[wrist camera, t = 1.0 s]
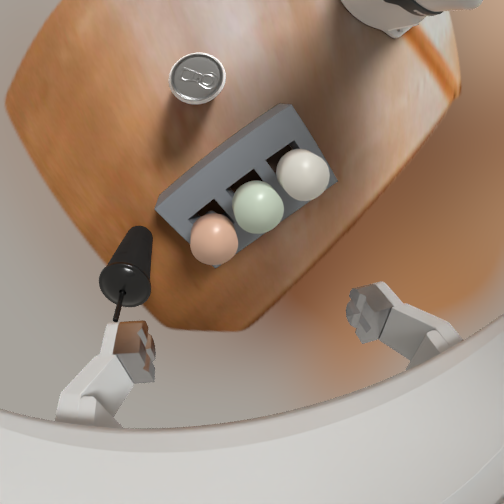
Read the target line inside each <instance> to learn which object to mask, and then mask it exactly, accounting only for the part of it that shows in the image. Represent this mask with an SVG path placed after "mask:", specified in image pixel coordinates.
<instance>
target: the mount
mask: <svg viewBox="0 0 504 504" xmlns="http://www.w3.org/2000/svg"><path fill="white" fill-rule="evenodd" d="M288 144H289V145H290V146H291V148H292V149H293V150H294V149H305V150H308V151H310V152H312V153H314V154H315V155H317V156H319V157H320V158H322V159H323V160H324V161H325V162H326V164H327V166H328V168H329V173H330V177H329V183H328V185H327V187H326V189H328V188H329V187H331V186H332V185H333V184H335V183H336V182H338V180H337V179H336V177H335V175H334V173H333V171H332V170H331V168H330V166H329V164H328V162H327V161H326V159H325V157H324V156H323V154H322V152H321V150H320V149H319V147H318V145H317V144H316V142H315V141H314V139H313V137H312V136H311V134H310V132H309V131H308V129H307V128H306V126H305V125H304V123H303V121H302V120H301V118H300V117H299V115H298V114H297V112H296V111H295V109H294V108H293V106H292V105H290V104H280V103H279V104H278V105H276V106H275V107H273V108H272V109H270V110H268V111H267V112H265V113H264V114H263V115H261V116H260V117H258V118H257V119H255V120H254V121H252V122H251V123H249V124H248V125H247V126H245V127H244V128H242V129H241V130H240V131H238V132H237V133H235V134H234V135H233V136H231V137H230V138H229V139H227V140H226V141H225V142H223V143H222V144H221V145H219V146H218V147H217V148H215V149H214V150H213V151H212V152H210V153H209V154H208V155H206V156H205V157H204V158H203V159H201V160H200V161H199V162H198V163H196V164H195V165H194V166H193V167H192V168H190V169H189V170H188V171H187V172H186V173H184V174H183V175H182V176H181V177H180V178H178V179H177V180H176V181H175V182H174V183H173V184H171V185H170V186H169V187H168V188H167V189H166V190H165V191H163V192H162V193H161V194H160V195H159V198H158V201H157V203H156V206H155V210H156V211H157V212H158V213H159V214H160V215H161V216H162V217H163V218H164V219H165V220H166V221H167V222H168V223H169V224H170V225H171V226H172V227H173V228H174V229H175V230H176V231H177V232H178V233H179V234H180V235H181V236H182V237H183V238H184V239H185V240H186V241H187V242H188V243H189V244H190V240H191V229H192V226H193V224H194V223H195V221H196V220H197V219H199V218H200V216H199V215H198V214H197V212H198V211H199V210H200V209H201V208H203V207H204V206H205V205H206V204H208V203H209V202H210V201H212V200H213V199H215V200H216V201H217V202H218V204H219V205H220V206H221V207H222V208H223V209H224V210H225V212H223V213H222V214H221V215H224V216H226V217H227V218H228V219H230V220H231V222H232V223H233V225H234V228H235V231H236V235H237V239H238V249H237V251H236V253H235V254H237V253H238V252H239V251H241V250H242V249H244V248H245V247H246V246H248V245H249V244H250V243H252V242H253V241H255V240H256V239H257V238H259V237H260V236H262V235H263V234H264V233H261V234H254V233H249V232H247V231H245V230H243V229H242V228H241V227H240V226H239V225H238V223H237V221H236V218H235V215H234V212H233V208H232V199H233V196H234V194H235V193H234V192H233V191H232V189H231V188H230V186H231V185H232V184H234V183H235V182H236V181H238V180H239V179H240V178H242V177H243V176H244V175H246V174H247V173H248V172H250V171H251V170H253V169H255V171H256V172H257V173H258V175H259V176H260V177H261V179H262V180H263V181H264V182H266V183H268V184H269V185H271V186H272V187H273V189H274V190H275V191H276V192H277V194H278V195H279V196H280V198H281V199H282V202H283V205H284V213H283V217H282V219H281V221H283V220H284V219H285V218H287V217H288V216H290V215H291V214H292V213H294V212H295V211H297V210H298V209H300V208H301V207H302V206H304V205H305V204H307V203H308V202H309V201H311V200H309V201H299V200H296V199H294V198H292V197H291V196H290V195H289V194H288V193H287V192H286V191H285V190H284V188H283V187H282V186H281V185H280V183H279V182H278V179H277V175H276V174H275V173H274V171H273V170H272V168H271V167H270V166H269V164H268V163H267V162H266V159H268V158H269V157H271V156H272V155H273V154H275V153H276V152H278V151H279V150H281V149H282V148H283V147H285V146H286V145H288ZM326 189H325V190H326ZM325 190H324V191H325ZM281 221H280V222H281ZM280 222H279V223H280ZM265 233H266V232H265ZM220 265H221V264H219V265H212V266H213V267H214V268H215V269H216V268H217V267H219V266H220Z"/></svg>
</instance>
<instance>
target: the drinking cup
mask: <svg viewBox="0 0 504 504" xmlns="http://www.w3.org/2000/svg"><path fill="white" fill-rule="evenodd" d="M152 241H153V237H152V234H151V232H150V231H149V230H148V229H147V228H145V227H143V226H135V227H132V228H131V229H130V230H129V231H128V233H127V234H126V236H125V237H124V239H123V240H122V242H121V244H120V245H119V247H118V248H117V250H116V252H115V253H114V255H113V257H112V258H111V260H110V262H109V263H108V265H107V266H106V267H105V268H104V269H103V270H102V272H101V274H100V277H99V285H100V289H101V291H102V292H103V294H104V295H105V297H106V298H108V299H109V300H110V301H111V302H113V303H115V304H117V306H116V309H115V314H114V317H113V321H114V322H118V319H119V315H120V311H121V307H122V306H123V307H136V306H139V305H141V304H143V303H144V302H145V301H147V299H148V298H149V296H150V293H151V283H150V267H151V253H152Z"/></svg>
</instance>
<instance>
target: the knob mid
mask: <svg viewBox="0 0 504 504" xmlns="http://www.w3.org/2000/svg"><path fill="white" fill-rule="evenodd" d="M232 208H233V212H234V215H235V218H236V221H237V223H238V225H239V226H240V227H241V228H242V229H243V230H245V231H247V232H249V233H254V234H261V233H265V232H268V231H270V230H272V229H273V228H275V227H276V226H277V225H278V224H279V222H280V221H281V219H282V217H283V213H284V205H283V202H282V199H281V198H280V196H279V195H278V194H277V192H276V191H275V190H274V189H273V187H272V186H271V185H269V184H268V183H266V182H263V181H257V180H256V181H249V182H247V183H244V184H243V185H241V186H240V187H239V188H238V189H237V190H236V192H235V194H234V196H233V199H232Z"/></svg>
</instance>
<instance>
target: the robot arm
mask: <svg viewBox="0 0 504 504" xmlns="http://www.w3.org/2000/svg"><path fill="white" fill-rule="evenodd" d="M341 1H342V3H343V4H344V6H345V7H346V8H347V9H348V11H349V12H350V13H351V14H352V15H353V16H355V17H356V18H357V19H358V20H360V21H361V22H363V23H365V24H366V25H368V26H371V27H374V28H377V29H380V30H382V31H384V32H385V33H386V34H388V35H389V36H391V37H392V38H398V37H400V36H401V35H403V34H404V33H405V32H406V31H408V30H409V29H410V28H411V27H413V26H416V25H419V22H420V21H422V20H423V19H424V18H425V17H426V16H434V15H437V14H441V13H442V12H443V11H452V10H471V9H475V8H477V7H478V6H480V5H481V3H482V1H483V0H341ZM397 30H398V31H397ZM349 297H350V298H351V300H350V302H349V303H348V304H347V307H346V317H347V319H348V322H349V323H350V325H351V326H353V327H355V328H356V332H355V333H356V334H357V336H358V337H359V339H360V341H361V342H362V344H363V343H367V342H370V341H374V340H377V339H379V340H380V341H381V342H383V343H384V344H386V345H387V346H389V347H390V348H392V349H393V350H395V351H396V352H398V353H400V354H401V355H403V356H404V357H406V358H407V359H409V360H410V363H409V365H408V366H407V368H406V371H404V372H402V373H399V374H397V375H395V376H393V377H390V378H388V379H385V380H383V381H381V382H378V383H376V384H373V385H371V386H368V387H365V388H363V389H360V390H357V391H354V392H352V393H349V394H346V395H343V396H340V397H337V398H334V399H330V400H327V401H324V402H320V403H317V404H313V405H310V406H306V407H302V408H298V409H295V410H291V411H286V412H282V413H277V414H273V415H268V416H263V417H258V418H253V419H247V420H241V421H234V422H228V423H220V424H212V425H202V426H192V427H177V428H147V429H146V428H135V429H134V428H123V427H122V426H121V425H120V424H119V423H118V422H117V421H116V420H115V419H114V418H113V417H114V416H115V414H116V413H117V411H118V409H119V407H120V406H121V405H122V403H123V401H124V400H125V398H126V397H127V395H128V394H129V392H130V390H131V389H132V387H133V386H134V383H147V382H154V379H155V367H154V365H153V363H152V362H153V361H154V360H155V353H156V352H155V345H154V341H153V338H152V336H151V335H150V334H149V333H148V326H147V323H146V321H129V322H115V323H108V324H107V326H106V329H105V334H104V337H103V341H102V345H101V350H100V354H99V355H96V356H95V357H94V358H93V359H92V360H91V361H90V362H89V363H88V364H87V365H86V366H85V368H84V369H83V370H82V371H81V372H80V373H79V374H78V375H77V376H76V377H75V378H74V379H73V380H72V381H71V382H70V383H69V385H68V386H67V387H66V388H65V389H64V390H63V391H62V392H61V393H60V398H59V403H58V407H57V413H56V418H55V421H50V420H45V419H40V418H35V417H30V416H26V415H21V414H18V413H14V412H10V411H7V410H3V409H0V504H504V314H502V315H500V316H499V317H498V318H496V319H495V320H493V321H492V322H490V323H489V324H488V325H486V326H485V327H483V328H482V329H480V330H479V331H477V332H476V333H474V334H472V335H471V336H469V337H468V338H466V339H465V340H463V339H462V338H461V336H460V335H459V334H458V333H457V332H456V330H455V329H454V328H453V327H452V326H451V325H450V323H449V322H447V321H445V320H443V319H440V318H438V317H436V316H434V315H432V314H429V313H427V312H425V311H423V310H420V309H418V308H416V307H413V306H411V305H409V304H407V303H406V304H403V303H402V302H401V300H400V299H399V298H398V297H397V296H396V295H395V293H394V292H393V291H392V290H391V289H390V288H389V287H388V286H387V284H386V283H384V282H382V281H381V282H377V283H374V284H370V285H365V286H361V287H357V288H353V289H352V290H351V291H350V295H349Z"/></svg>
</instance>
